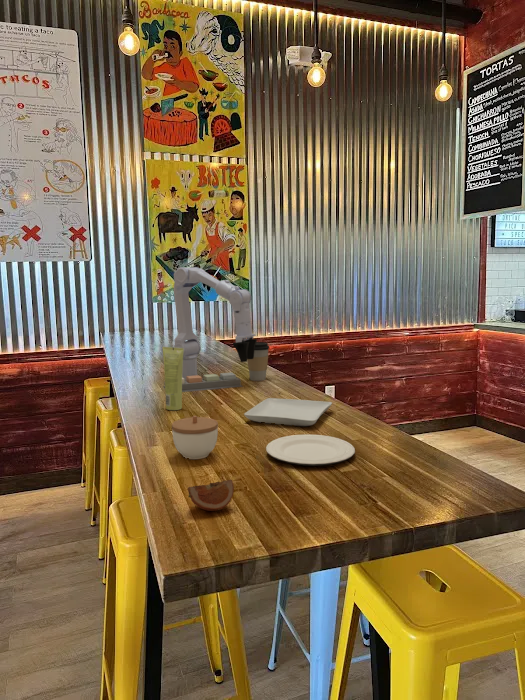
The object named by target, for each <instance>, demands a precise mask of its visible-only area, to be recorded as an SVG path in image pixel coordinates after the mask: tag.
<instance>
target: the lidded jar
mask: <svg viewBox="0 0 525 700" xmlns="http://www.w3.org/2000/svg"><path fill="white" fill-rule="evenodd" d="M218 428H219V423H218V421H217V420H216V419H213V418H211V417H205V416H202V417H201V416H200V417H199V416H197V415H192V417H185V418H181V419H177V420H174V421H173V422H172V423H171V430H172V439H173V444H174V447H175V449H176V450H177V451H178V453H180V455H182V457H183V458H184V457H185V458H184V459H187V458H189V459H188V460H201V459H205V458H207V457H208V456H209V454H211V452H213V450H214V449H215V447H216V445H217V442H218Z"/></svg>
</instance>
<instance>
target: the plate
mask: <svg viewBox="0 0 525 700" xmlns="http://www.w3.org/2000/svg"><path fill="white" fill-rule="evenodd" d="M265 451H266V453H267V454H268V455H269V456H270V457H272V458H274V459H275V460H278V461H282V462H285V463H288V464H291V465H297V466H303V467H305V466H306V467H320V466H321V467H322V466H327V465H329V466H330V465H333V464H339V463H341V462H345V461H347V460H348V459H351V458H352V457H353V456H354V454H355V453H356V450H355V447H354V445H352V444H351V443H350V442H348V441H346V440H344V439H341V438H338V437H334V436H330V435H323V434H322V435H321V434H309V433H308V434H294V435H293V434H292V435H286V436H281V437H277V438H276V439H273V440H272V441H270V442H269V443H268V444H267V445H266V447H265Z"/></svg>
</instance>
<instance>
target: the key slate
mask: <svg viewBox="0 0 525 700" xmlns="http://www.w3.org/2000/svg"><path fill="white" fill-rule="evenodd" d="M219 377H220V379H222V380H232V379H236V377H237V376H236V374H235V373H233V372H223V373H219Z"/></svg>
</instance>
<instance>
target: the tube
mask: <svg viewBox="0 0 525 700" xmlns="http://www.w3.org/2000/svg"><path fill="white" fill-rule="evenodd" d="M183 352H184V348H174V346H173V347H171V346H162V358H163V371H164V373H163V374H164V382H165V388H164V390H165V393H164V394H165V409H166V410H169V411H179V410H181V409H182V408H183V392H182V368H183Z"/></svg>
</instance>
